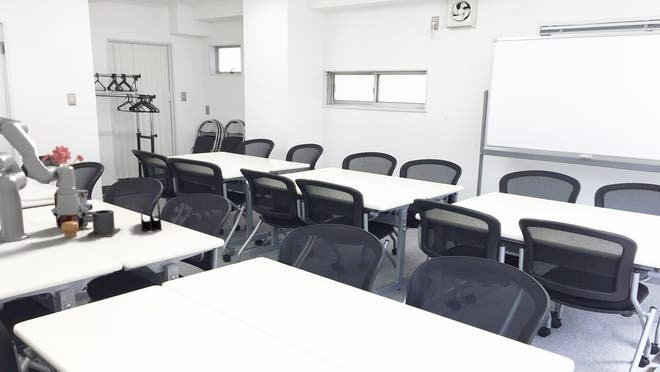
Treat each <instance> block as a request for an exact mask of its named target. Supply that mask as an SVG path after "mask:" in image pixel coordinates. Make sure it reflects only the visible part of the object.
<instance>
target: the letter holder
mask: <svg viewBox="0 0 660 372" xmlns="http://www.w3.org/2000/svg"><path fill="white" fill-rule="evenodd" d="M156 202H157V214H158V219H157V220H155V218H154V217H153V214H152V208H151V207H152V206H151V205H150V204H149V205H148V208H149V220H147V221H146V220H144V219H143V210H142V209H141V210H140V219H141V221H140V225H141V226H140V227H141V229H140V230H141V232H142V233H148V231H152V232H158V231H157V230H161V231H163V229H162V217H161V208H160V206H161V205H160V202H159V199H158V198H157V200H156Z"/></svg>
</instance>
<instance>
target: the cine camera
mask: <svg viewBox="0 0 660 372" xmlns="http://www.w3.org/2000/svg"><path fill="white" fill-rule="evenodd" d="M88 191H89V190H87V189H85V190H84V189H76V193H78V195H79V198H80V203H81V205H82V206H84V207H86V208H88V211H87V213H86V215H85V216H84V217H83V218H84V224H83V225H82V226H79V216H78V215H77V214H76V215H62V217H63V223H64V222H69V221H76V222H78V228H79V229H83V228H86V227H87V226H88V225H89V223H93V218H92V212H93V211H92V210H93V208H94V207H93V204H92V203H88V195H89V192H88ZM53 195H54V196H53V201H54V208H55V207H57V196H58V195H59V192H56V191H55V192H54V194H53ZM56 212H57V210H56ZM81 212H82V213H83V212H84V210H83V209H82V211H81ZM55 223H56V227H57V228H59V229H62V226H59V224H58V219H57V218H56V217H55Z"/></svg>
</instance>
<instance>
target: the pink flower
mask: <svg viewBox="0 0 660 372" xmlns="http://www.w3.org/2000/svg"><path fill="white" fill-rule="evenodd" d="M50 154H51V153H47V154H46V155H44V156H43V157H42V158H41V159H40V161H41V162H42V163H44V161H46V160H48V158H50V159H51V161H52V162H53V163H52V164H53V165H55V166H56V165H57V166H58V165H63V166H66V165H69V166H71V165H72V166H73V165H74V164H75V163H76V161H77V160H78V161H79V162H81V163H82V162H83V161H84V157H83V156H82V155H80V154H78V155H77V156H76V158H75V160H74V161H73V163H68V160H71V159H72V158H71V155H72V152H71V151H69V147H67V146H66V147H64V145H60V146H58V145H56V146H55V149H52V154H51V155H50ZM57 162H58V163H57ZM65 164H66V165H65ZM56 184H57V186H58V180H56ZM57 189H59V187H57ZM50 197H51V195H49V196H48V198H50Z"/></svg>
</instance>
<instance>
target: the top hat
mask: <svg viewBox="0 0 660 372" xmlns="http://www.w3.org/2000/svg"><path fill="white" fill-rule="evenodd" d="M91 212H92V218H93V222H92V229H93V230H92V231H90V232H89V233H87V234H86V236H87V238H96V237H97V238H100V237H101V238H106V237H107V238H108V237H109V238H112V237H114V236H115V235H116V234H118V233H120V231H121V227H120V228H119V227H118V228H117V227H116V226H115V215H114V213H115V212H114V211H113V210H112V209H102V210H94V211H91Z"/></svg>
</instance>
